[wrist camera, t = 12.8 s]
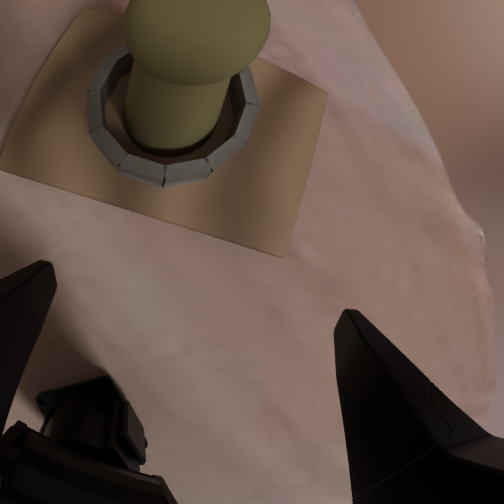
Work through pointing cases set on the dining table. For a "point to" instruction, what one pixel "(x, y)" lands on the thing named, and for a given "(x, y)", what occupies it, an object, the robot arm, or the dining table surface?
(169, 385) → the dining table surface
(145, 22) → the cork
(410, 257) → the dining table surface
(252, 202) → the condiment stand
